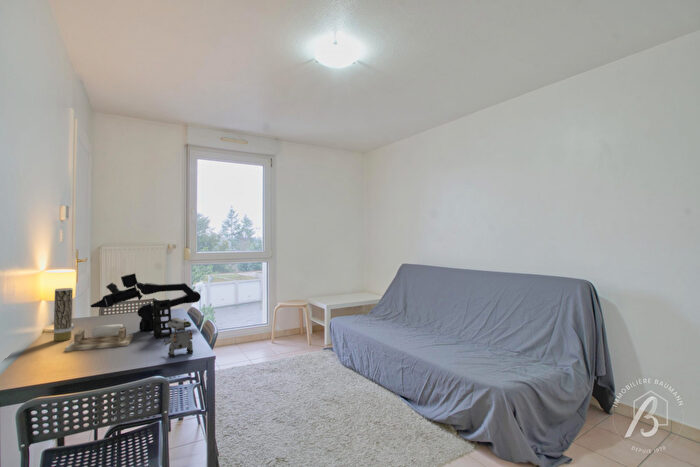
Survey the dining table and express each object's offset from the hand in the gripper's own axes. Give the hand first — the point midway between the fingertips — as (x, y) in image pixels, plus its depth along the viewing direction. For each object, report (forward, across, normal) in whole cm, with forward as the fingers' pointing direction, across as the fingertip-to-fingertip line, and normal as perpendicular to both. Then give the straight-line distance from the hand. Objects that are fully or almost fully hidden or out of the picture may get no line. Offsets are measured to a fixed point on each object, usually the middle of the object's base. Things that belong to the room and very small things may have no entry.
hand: (92, 305), depth 183 cm
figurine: (-32, +50, +31) cm, 66 cm away
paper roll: (-3, +5, +18) cm, 18 cm away
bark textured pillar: (+15, +2, +12) cm, 19 cm away
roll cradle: (-2, +19, +18) cm, 26 cm away
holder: (-26, +17, +26) cm, 40 cm away
